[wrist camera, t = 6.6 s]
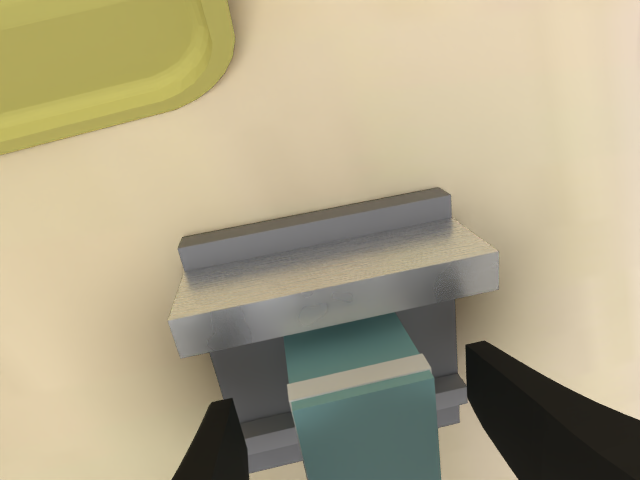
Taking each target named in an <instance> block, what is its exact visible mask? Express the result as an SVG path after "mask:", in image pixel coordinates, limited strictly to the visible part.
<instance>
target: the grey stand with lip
mask: <svg viewBox="0 0 640 480" xmlns="http://www.w3.org/2000/svg"><path fill="white" fill-rule="evenodd" d="M447 218H452V212H451V195H450V194H448V193H447V192H445V191H444V190H442V189H440V188H434V189H429V190H424V191H418V192H413V193H408V194H403V195H398V196H393V197H388V198H382V199H377V200H372V201H367V202H362V203H357V204H352V205H346V206H341V207H336V208H331V209H326V210H321V211H316V212H311V213H305V214H300V215H295V216H290V217H285V218H280V219H275V220H269V221H264V222H259V223H254V224H249V225H244V226H239V227H233V228H228V229H223V230H218V231H213V232H208V233H203V234H197V235H192V236H187V237H182V239H181V242H180V244H179V246H178V252H179V255H180V258H181V261H182V265H183V268H184V271H188V270H193V269H198V268H203V267H208V266H213V265H218V264H223V263H228V262H233V261H238V260H243V259H248V258H253V257H258V256H263V255H268V254H273V253H278V252H283V251H288V250H292V249H297V248H302V247H307V246H312V245H317V244H322V243H327V242H332V241H337V240H342V239H347V238H352V237H357V236H362V235H367V234H372V233H377V232H382V231H387V230H392V229H397V228H402V227H407V226H412V225H417V224H422V223H427V222H432V221H437V220H442V219H447ZM395 313H396V315H397V317H398V318H399V320H400V322H401V323H402V325H403V327H404V328H405V330H406V332H407V333H408V335H409V337H410V338H411V340H412V342H413V343H414V345H415V347H416V348H417V350H418V352H419V353H420V354H422V353H423V355H424V357H425V358H426V360H427V362H428V363H429V365H430V367H431V370H432V375H433V377H434V382H435V396H436V411H437V425H438V428H440V427H444V426H448V425H452V424H456V423H460V418H459V405H462V404H466V403H468V400H467V386H466V384H465V383H464V382H463V380H462V379H461V377H460V376H459V374H458V367H457V341H456V315H455V299H453V300H448V301H444V302H439V303H434V304H430V305H425V306H421V307H416V308H411V309H407V310H402V311H398V312H395ZM209 353H210V356H211V360H212V363H213V366H214V369H215V373H216V376H217V379H218V382H219V386H220V389H221V392H222V396H223V399H229V398H233V401H234V405H235V408H236V412H237V415H238V418H239V422H240V425H241V428H242V432H243V435H244V439H245V442H246V445H247V449H248V467H249V473H253V472H258V471H262V470H266V469H270V468H274V467H278V466H282V465H287V464H291V463H295V462H299V461H303V459H302V455H301V451H300V446H299V442H298V438H297V434H296V429H295V425H294V421H293V417H292V412H291V408H290V404H289V398H288V389H287V384H289V380H288V371H287V363H286V355H285V347H284V338H283V336H282V337H278V338H273V339H269V340H264V341H259V342H255V343H250V344H245V345H241V346H236V347H232V348H227V349H222V350H218V351H213V352H209Z"/></svg>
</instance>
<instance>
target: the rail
mask: <svg viewBox="0 0 640 480" xmlns="http://www.w3.org/2000/svg"><path fill="white" fill-rule="evenodd" d="M494 290H499V251H498V250H496V249H495V248H494V247H492V246H491V245H489V244H488V243H487V242H485V241H484V240H482V239H481V238H480V237H478V236H477V235H475V234H474V233H473V232H471V231H470V230H468V229H467V228H466V227H464V226H463V225H461V224H460V223H459V222H457V221H456V220H454V219H453V218H447V219H442V220H437V221H432V222H427V223H422V224H417V225H412V226H407V227H402V228H397V229H392V230H387V231H382V232H377V233H372V234H367V235H362V236H357V237H352V238H347V239H342V240H337V241H332V242H327V243H322V244H317V245H312V246H307V247H302V248H297V249H292V250H288V251H283V252H278V253H273V254H268V255H263V256H258V257H253V258H248V259H243V260H238V261H233V262H228V263H223V264H218V265H213V266H208V267H203V268H198V269H193V270H188V271H184V274H183V277H182V280H181V283H180V286H179V289H178V292H177V295H176V298H175V301H174V304H173V306H172V309H171V312H170V315H169V318H168V323H169V326H170V329H171V332H172V335H173V338H174V341H175V344H176V347H177V350H178V353H179V356H180V359H181V358H186V357H190V356H195V355H199V354H204V353H209V352H213V351H218V350H222V349H227V348H232V347H236V346H241V345H245V344H250V343H255V342H259V341H264V340H269V339H273V338H278V337H282V336H287V335H292V334H296V333H301V332H305V331H310V330H315V329H319V328H324V327H328V326H333V325H338V324H342V323H347V322H351V321H356V320H361V319H365V318H370V317H374V316H379V315H384V314H388V313H393V312H398V311H402V310H407V309H411V308H416V307H421V306H425V305H430V304H434V303H439V302H444V301H448V300H453V299H457V298H462V297H467V296H471V295H476V294H480V293H485V292H490V291H494Z"/></svg>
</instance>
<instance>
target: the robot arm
mask: <svg viewBox="0 0 640 480" xmlns="http://www.w3.org/2000/svg"><path fill="white" fill-rule="evenodd" d="M466 379H467V398H468V400H469V402H470V404H471V406H472V408H473V410H474V412H475V414H476V416H477V417H478V419H479V421H480V423H481V425H482V427H483V428H484V430H485V431H486V433H487V434H488V436H489V437H490V439H491V440H492V442H493V443H494V445H495V446H496V448H497V449H498V451H499V452H500V454H501V455H502V456H503V458H504V459H505V461H506V462H507V464H508V465H509V467H510V468H511V469H512V471H513V472H514V474H515V475H516V477H517V478H518V480H640V420H638V419H635V418H633V417H630V416H628V415H625V414H623V413H620V412H618V411H616V410H613V409H611V408H609V407H606V406H604V405H602V404H599V403H597V402H595V401H593V400H591V399H589V398H586V397H584V396H582V395H580V394H578V393H576V392H574V391H572V390H570V389H568V388H566V387H565V386H563V385H561V384H559V383H557V382H555V381H553V380H551V379H550V378H548V377H546V376H544V375H542V374H541V373H539V372H537V371H535V370H533V369H532V368H530V367H528V366H527V365H525V364H523V363H522V362H520V361H518V360H516V359H515V358H513V357H511V356H510V355H508V354H506V353H505V352H503V351H501V350H500V349H498V348H496V347H495V346H493V345H491V344H490V343H488V342H486V341H480V342H476V343H471V344H467V345H466ZM172 480H249V467H248V449H247V445H246V442H245V439H244V435H243V432H242V428H241V425H240V422H239V418H238V415H237V412H236V408H235V405H234V401H233V398H229V399H224V400H220V401H215V402H212V403H211V404H210V405H209V407H208V409H207V412H206V414H205V416H204V418H203V420H202V423H201V425H200V427H199V429H198V431H197V433H196V435H195V437H194V439H193V441H192V443H191V445H190V447H189V449H188V451H187V453H186V455H185V456H184V458H183V460H182V462H181V464H180V466H179V468H178V469H177V471H176V473H175V475H174V476H173V478H172Z"/></svg>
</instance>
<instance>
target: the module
mask: <svg viewBox="0 0 640 480" xmlns="http://www.w3.org/2000/svg"><path fill="white" fill-rule="evenodd" d="M283 338H284V347H285V355H286V363H287V371H288V380H289V384H287V389H288V398H289V404H290V408H291V412H292V417H293V421H294V425H295V429H296V434H297V438H298V442H299V446H300V451H301V455H302V459H303V463H304V468H305V472H306V476H307V480H441V469H440V455H439V440H438V425H437V411H436V396H435V382H434V377H433V375H432V370H431V367H430V365H429V363H428V362H427V360H426V358H425V357H424V355H423V353H422V354H420V353H419V352H418V350H417V348H416V347H415V345H414V343H413V342H412V340H411V338H410V337H409V335H408V333H407V332H406V330H405V328H404V327H403V325H402V323H401V322H400V320H399V318H398V317H397V315H396V313H395V312H393V313H388V314H384V315H379V316H374V317H370V318H365V319H361V320H356V321H351V322H347V323H342V324H338V325H333V326H328V327H324V328H319V329H315V330H310V331H305V332H301V333H296V334H292V335H287V336H283Z"/></svg>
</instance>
